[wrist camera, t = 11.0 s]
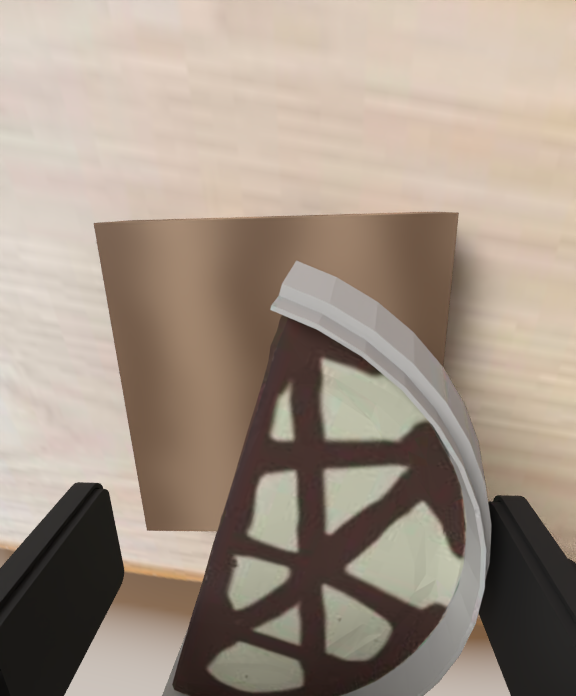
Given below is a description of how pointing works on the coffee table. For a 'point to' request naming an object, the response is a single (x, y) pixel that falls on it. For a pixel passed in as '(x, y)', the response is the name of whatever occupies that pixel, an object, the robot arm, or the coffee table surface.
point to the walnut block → (240, 328)
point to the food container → (343, 515)
